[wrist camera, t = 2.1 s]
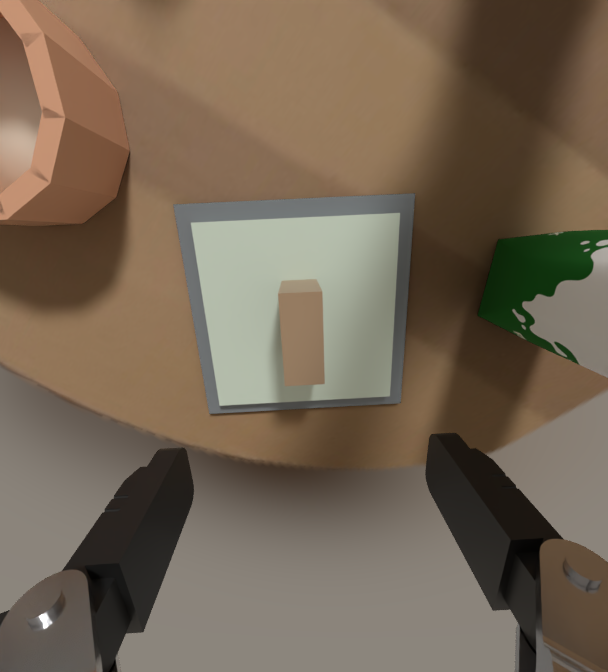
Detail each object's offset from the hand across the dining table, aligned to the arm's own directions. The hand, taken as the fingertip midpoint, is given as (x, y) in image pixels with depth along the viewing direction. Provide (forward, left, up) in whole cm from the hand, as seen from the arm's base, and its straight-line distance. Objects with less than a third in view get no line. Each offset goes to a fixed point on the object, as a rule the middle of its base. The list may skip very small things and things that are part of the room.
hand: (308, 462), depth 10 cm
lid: (0, 0, -19) cm, 19 cm away
